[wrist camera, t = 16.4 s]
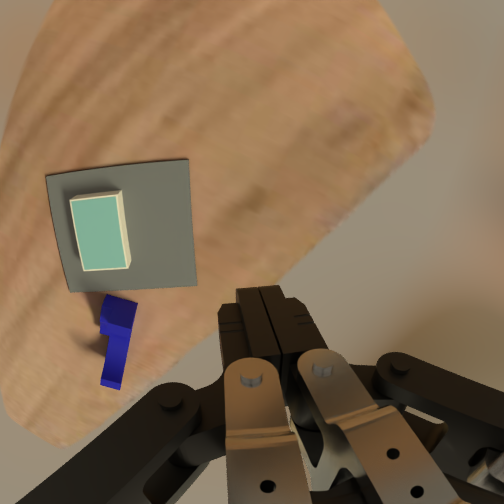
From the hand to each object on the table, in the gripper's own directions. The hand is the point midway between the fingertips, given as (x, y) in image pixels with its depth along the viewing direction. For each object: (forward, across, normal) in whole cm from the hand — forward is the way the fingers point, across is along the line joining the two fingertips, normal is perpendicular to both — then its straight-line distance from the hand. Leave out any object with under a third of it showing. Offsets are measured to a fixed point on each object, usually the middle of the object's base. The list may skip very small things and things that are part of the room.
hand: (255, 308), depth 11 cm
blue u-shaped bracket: (+27, +16, +21) cm, 38 cm away
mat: (+27, +12, +6) cm, 30 cm away
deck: (+26, +11, +5) cm, 28 cm away
